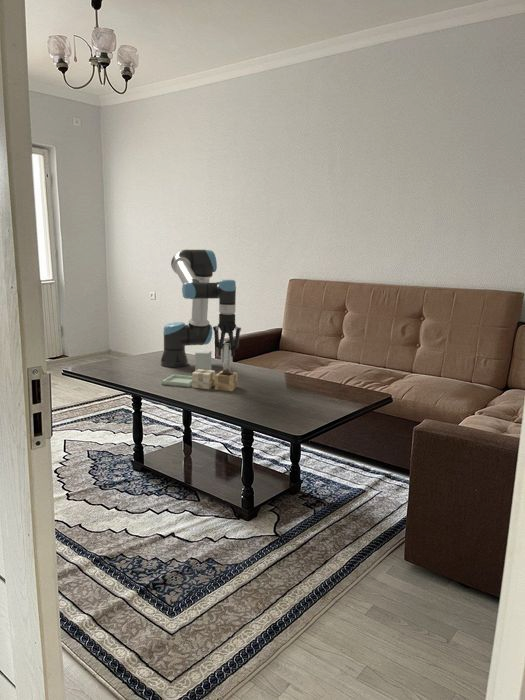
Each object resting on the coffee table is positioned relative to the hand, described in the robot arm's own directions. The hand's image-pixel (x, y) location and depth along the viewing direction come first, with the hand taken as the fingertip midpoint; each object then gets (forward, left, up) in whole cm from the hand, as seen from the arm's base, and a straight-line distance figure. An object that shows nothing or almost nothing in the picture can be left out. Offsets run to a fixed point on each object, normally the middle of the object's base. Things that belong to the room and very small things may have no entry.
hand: (226, 362), depth 256 cm
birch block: (0, -12, -12) cm, 17 cm away
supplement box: (-20, -19, -13) cm, 30 cm away
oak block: (0, 0, -12) cm, 12 cm away
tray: (-2, -24, -12) cm, 27 cm away
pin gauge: (0, 0, -7) cm, 7 cm away
